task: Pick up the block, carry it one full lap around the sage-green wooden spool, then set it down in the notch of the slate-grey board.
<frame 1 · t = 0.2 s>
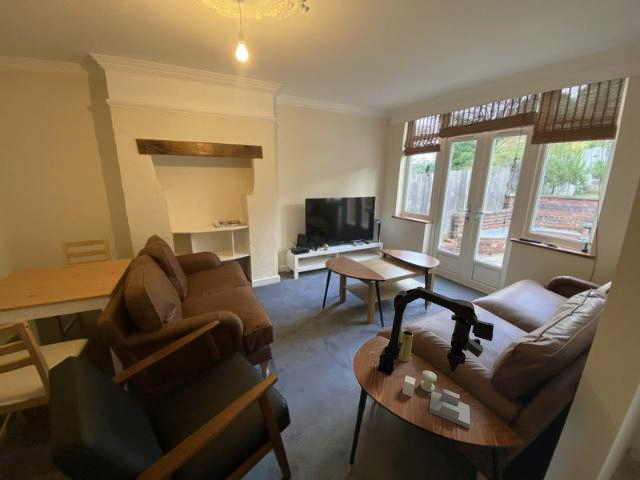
hand: (453, 365, 110), 14 cm above the table, fingers open, 9 cm apart
notch board: (448, 410, 105), on the table
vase: (403, 358, 135), on the table
block: (407, 392, 113), on the table
spool: (427, 386, 116), on the table
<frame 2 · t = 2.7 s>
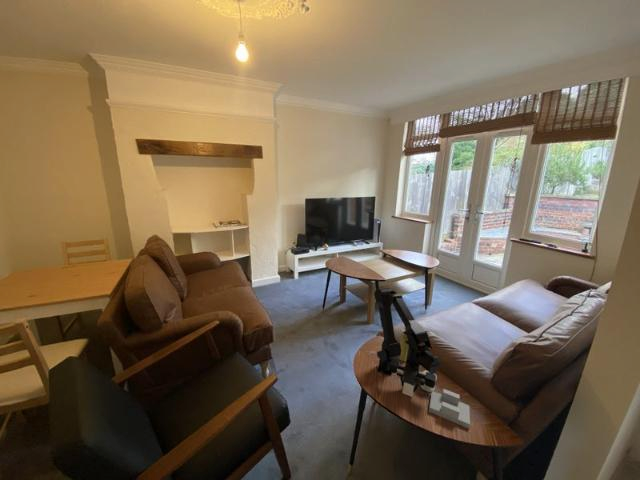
hand: (408, 389, 112), 1 cm above the table, fingers closed on block, 4 cm apart
block: (407, 391, 113), on the table, touching gripper
everything else where it was.
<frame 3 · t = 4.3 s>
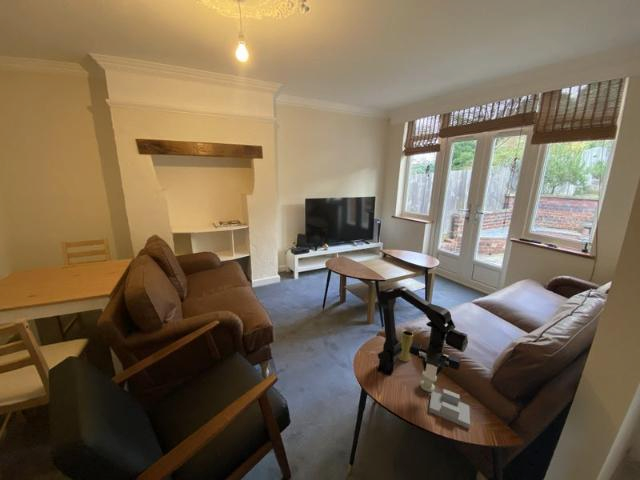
hand: (430, 373, 109), 11 cm above the table, fingers closed on block, 4 cm apart
block: (430, 375, 109), point 10 cm above the table, touching gripper
everything else where it was.
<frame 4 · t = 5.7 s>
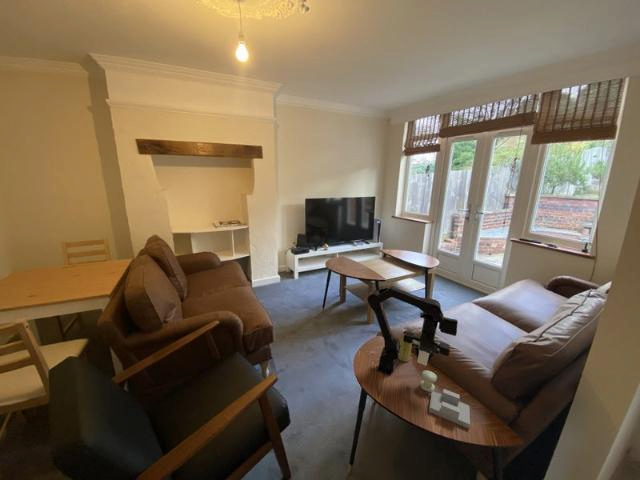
hand: (422, 359, 118), 11 cm above the table, fingers closed on block, 4 cm apart
block: (422, 361, 118), point 10 cm above the table, touching gripper
everything else where it was.
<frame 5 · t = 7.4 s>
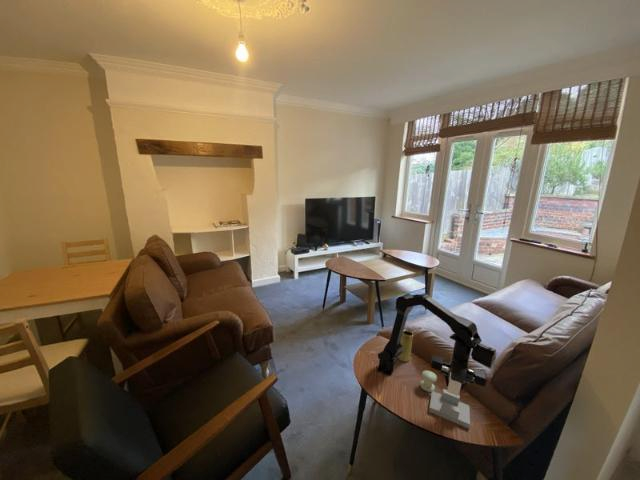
hand: (453, 388, 103), 10 cm above the table, fingers closed on block, 4 cm apart
block: (452, 390, 103), point 9 cm above the table, touching gripper
everything else where it was.
when the fingers open (4 cm above the table, at t = 8.6 s): block drops 2 cm, resting on notch board.
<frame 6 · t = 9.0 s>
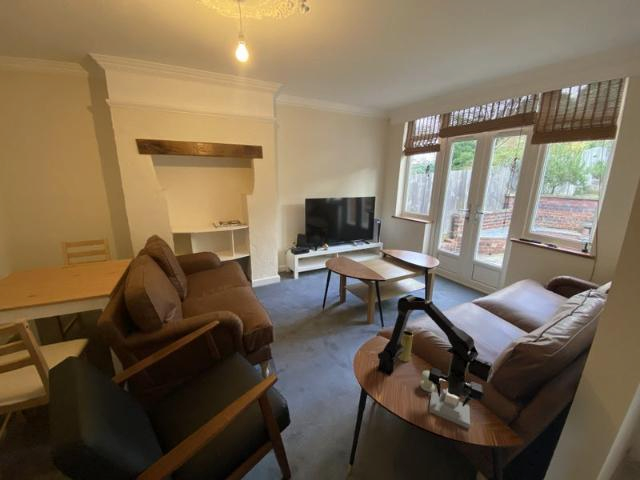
hand: (450, 401, 104), 4 cm above the table, fingers open, 8 cm apart
block: (449, 406, 104), point 2 cm above the table, touching notch board
everything else where it was.
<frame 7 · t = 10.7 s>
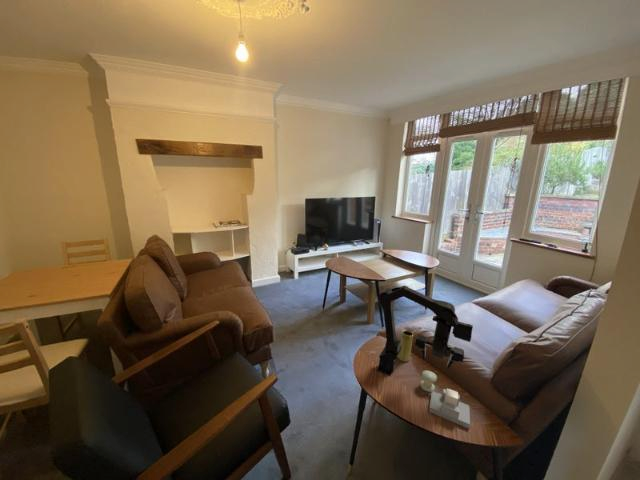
hand: (435, 364, 114), 12 cm above the table, fingers open, 9 cm apart
nothing on the table moved.
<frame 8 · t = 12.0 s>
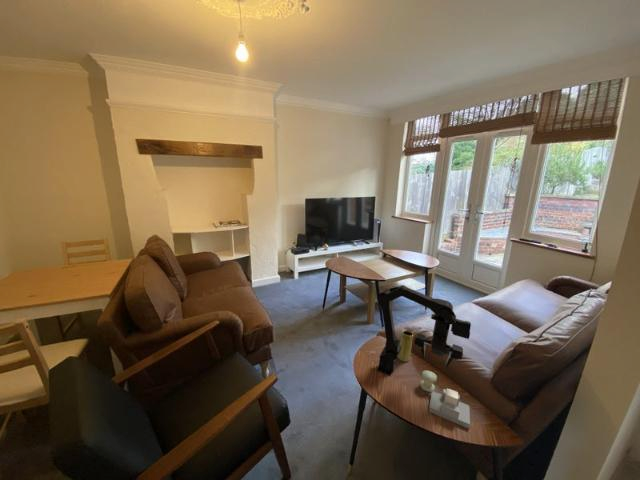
hand: (434, 362, 114), 12 cm above the table, fingers open, 9 cm apart
nothing on the table moved.
at the end: block 0.1 cm off-centre on the notch board, point 2.0 cm above the notch board's base; block tilted 0°; the gripper is holding nothing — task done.
